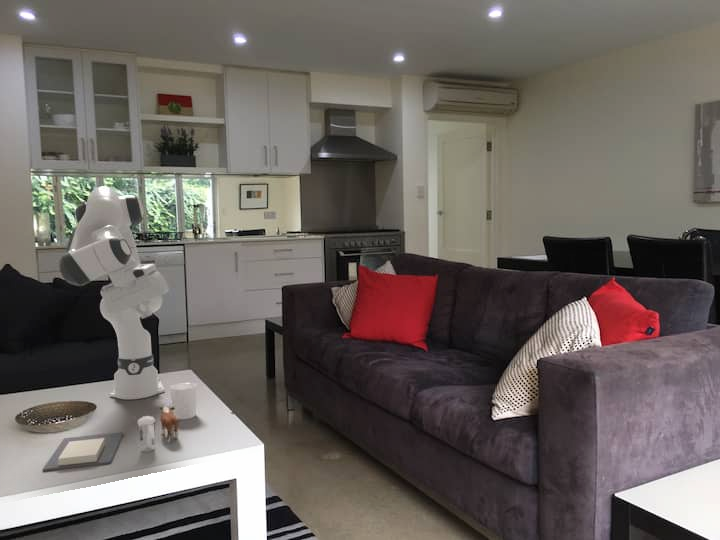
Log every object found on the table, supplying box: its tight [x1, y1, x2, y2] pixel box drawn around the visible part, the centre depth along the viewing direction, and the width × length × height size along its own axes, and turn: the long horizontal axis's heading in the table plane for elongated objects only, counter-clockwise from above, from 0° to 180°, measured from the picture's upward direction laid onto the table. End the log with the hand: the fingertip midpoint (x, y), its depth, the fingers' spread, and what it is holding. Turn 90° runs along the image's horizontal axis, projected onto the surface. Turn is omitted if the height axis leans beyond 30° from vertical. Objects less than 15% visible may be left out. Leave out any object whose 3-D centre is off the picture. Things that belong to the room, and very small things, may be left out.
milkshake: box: [134, 415, 156, 453], centre depth 158 cm, size 5×5×10 cm
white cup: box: [170, 382, 197, 421], centre depth 186 cm, size 8×8×10 cm
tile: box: [58, 438, 105, 466], centre depth 155 cm, size 2×9×12 cm
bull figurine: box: [159, 403, 180, 444], centre depth 168 cm, size 4×13×8 cm, turn 25°
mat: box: [42, 431, 124, 472], centre depth 159 cm, size 22×16×1 cm
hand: (147, 316), depth 179 cm, fingers closed
